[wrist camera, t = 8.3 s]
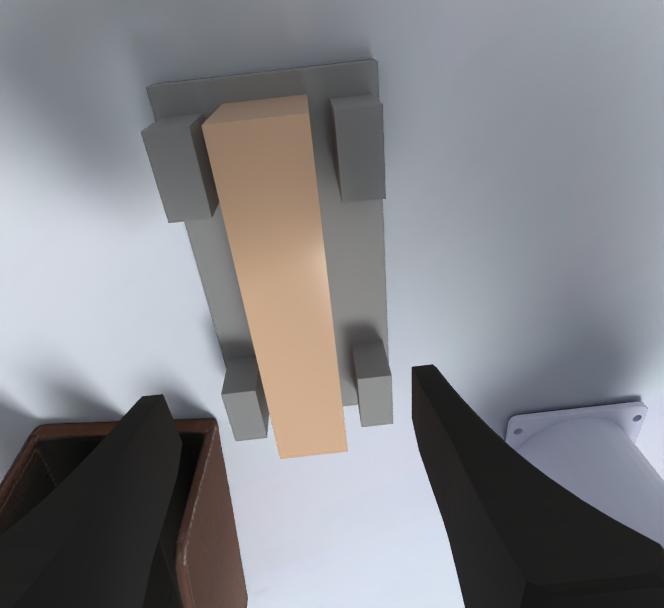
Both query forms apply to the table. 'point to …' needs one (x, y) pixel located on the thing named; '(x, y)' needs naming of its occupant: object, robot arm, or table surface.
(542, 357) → the table surface
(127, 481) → the robot arm
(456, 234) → the table surface
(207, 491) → the letter holder
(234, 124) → the light brown rectangular bar
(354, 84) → the plate with corner studs
